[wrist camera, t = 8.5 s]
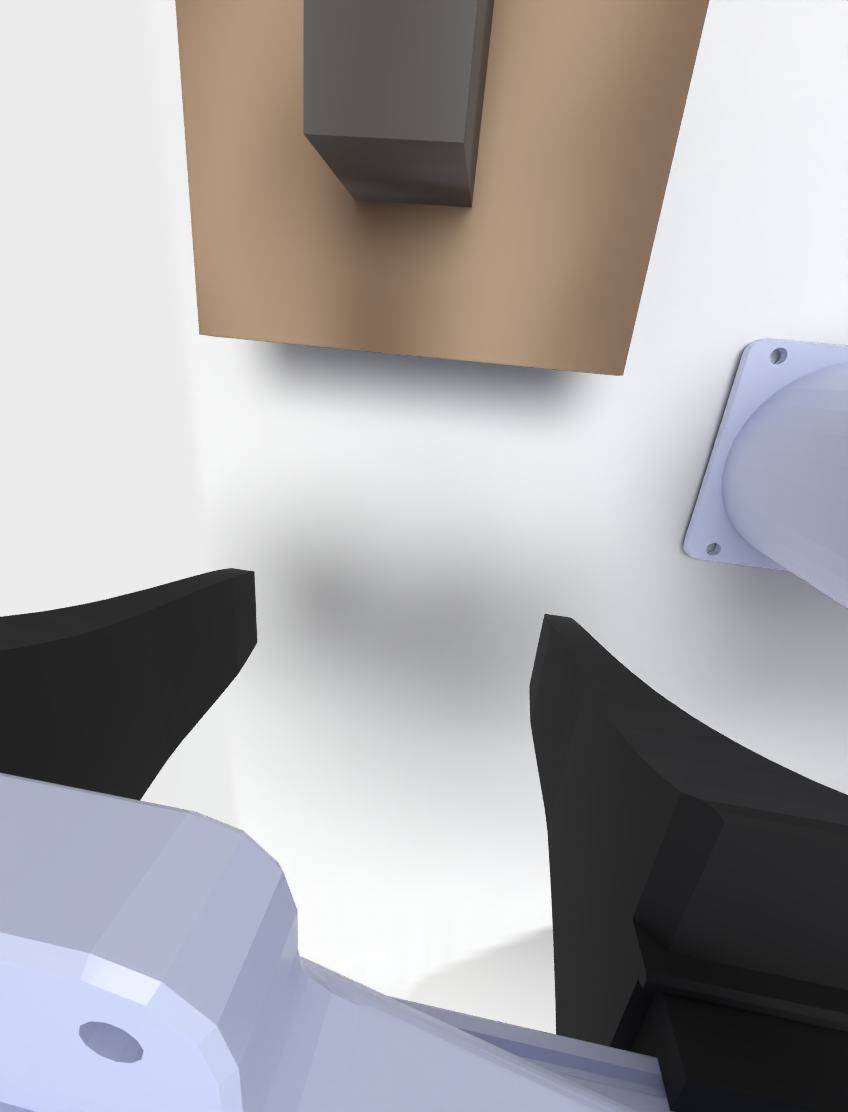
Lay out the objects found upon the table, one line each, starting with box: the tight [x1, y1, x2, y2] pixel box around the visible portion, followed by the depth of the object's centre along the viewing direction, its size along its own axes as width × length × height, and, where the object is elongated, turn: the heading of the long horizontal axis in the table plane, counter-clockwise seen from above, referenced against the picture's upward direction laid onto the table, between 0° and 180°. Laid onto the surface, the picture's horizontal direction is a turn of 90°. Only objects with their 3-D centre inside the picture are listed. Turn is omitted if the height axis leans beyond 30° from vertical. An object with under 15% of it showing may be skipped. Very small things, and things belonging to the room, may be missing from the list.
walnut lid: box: [175, 0, 709, 376], centre depth 10 cm, size 12×12×4 cm
